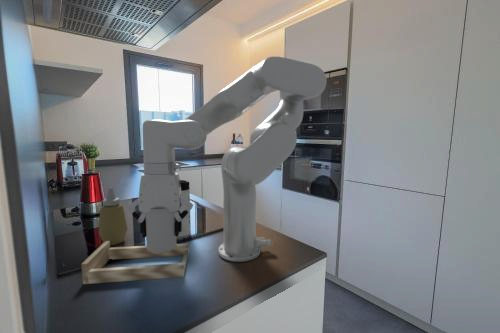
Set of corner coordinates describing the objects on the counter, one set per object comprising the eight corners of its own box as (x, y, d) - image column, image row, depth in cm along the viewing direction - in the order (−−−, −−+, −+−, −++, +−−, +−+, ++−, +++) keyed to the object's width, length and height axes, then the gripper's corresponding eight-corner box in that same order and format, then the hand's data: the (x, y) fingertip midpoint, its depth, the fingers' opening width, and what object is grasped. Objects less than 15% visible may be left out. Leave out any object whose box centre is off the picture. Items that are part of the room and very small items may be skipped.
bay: (189, 252, 72) (188, 236, 72) (183, 276, 60) (183, 257, 60) (106, 257, 69) (105, 241, 68) (83, 284, 57) (81, 264, 56)
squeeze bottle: (107, 236, 83) (104, 185, 81) (132, 236, 84) (129, 185, 81) (94, 247, 75) (89, 191, 73) (121, 247, 76) (117, 190, 73)
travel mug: (168, 235, 84) (166, 179, 82) (185, 230, 89) (184, 177, 86) (176, 241, 80) (174, 182, 77) (194, 236, 84) (192, 179, 82)
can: (167, 257, 60) (166, 210, 59) (140, 253, 62) (138, 208, 60) (181, 244, 68) (180, 202, 66) (157, 241, 69) (156, 200, 68)
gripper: (195, 167, 67) (196, 228, 69) (128, 167, 65) (131, 230, 67) (193, 171, 60) (194, 239, 62) (117, 171, 57) (121, 242, 59)
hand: (161, 234), depth 64 cm, fingers closed on can, 7 cm apart
